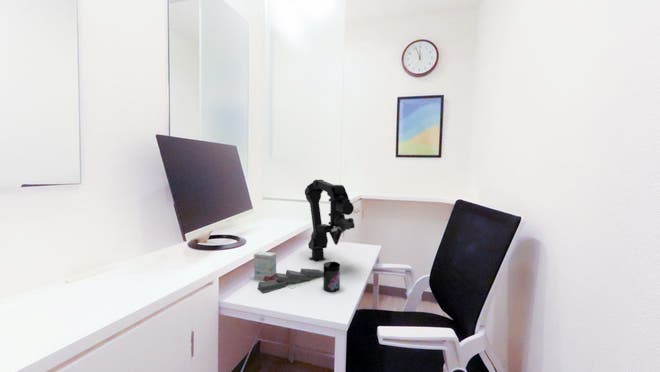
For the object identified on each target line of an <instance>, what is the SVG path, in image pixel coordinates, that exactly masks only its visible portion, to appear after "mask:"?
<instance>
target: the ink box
mask: <svg viewBox="0 0 660 372" xmlns="http://www.w3.org/2000/svg"><path fill="white" fill-rule="evenodd" d="M253 262H254V263H253V264H254V266H253V267H254V268H253V269H254V271H253V272H254V273H253V275H254V280H256V281H259V282H264V281H269V280H275V279H276V277H275V274H276V273H277V253H276V252H270V251H269V252H268V251H267V252H266V251H261V250H260V251H258V252H255V253H254V254H253Z"/></svg>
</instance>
